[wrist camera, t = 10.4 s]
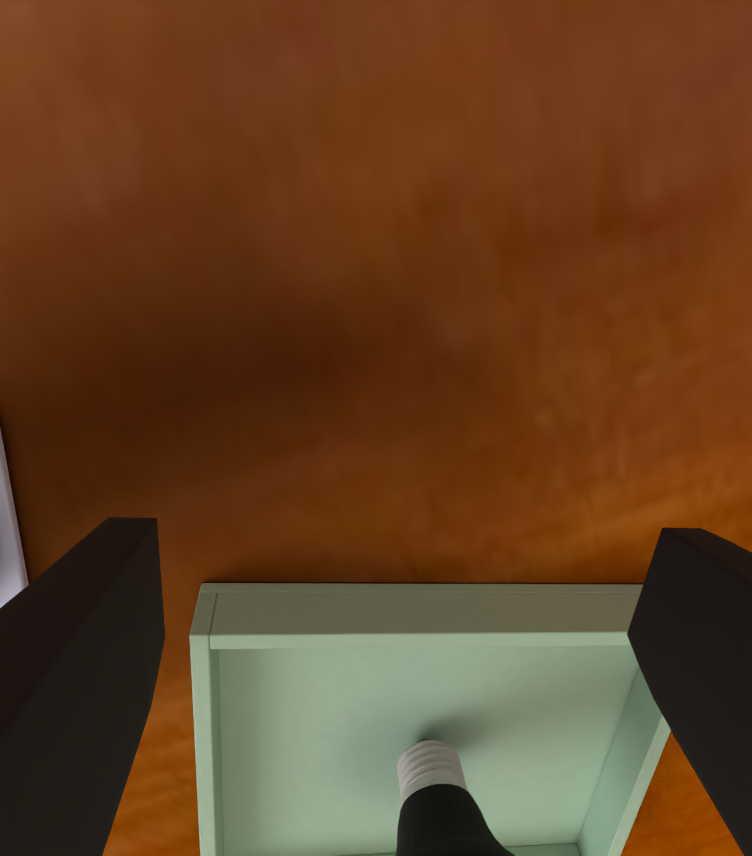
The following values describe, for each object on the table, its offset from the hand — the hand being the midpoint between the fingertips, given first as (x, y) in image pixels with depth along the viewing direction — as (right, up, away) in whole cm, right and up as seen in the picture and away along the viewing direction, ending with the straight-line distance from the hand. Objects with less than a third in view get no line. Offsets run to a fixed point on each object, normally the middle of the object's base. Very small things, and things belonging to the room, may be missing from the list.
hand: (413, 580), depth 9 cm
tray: (+1, -10, +17) cm, 20 cm away
